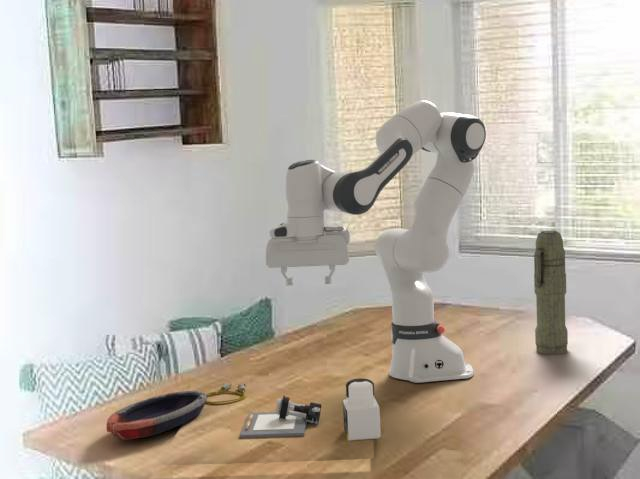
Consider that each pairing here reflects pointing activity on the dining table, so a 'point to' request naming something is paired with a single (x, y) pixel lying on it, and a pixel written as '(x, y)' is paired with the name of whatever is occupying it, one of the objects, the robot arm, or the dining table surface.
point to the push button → (298, 410)
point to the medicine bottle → (361, 411)
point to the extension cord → (225, 387)
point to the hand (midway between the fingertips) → (308, 284)
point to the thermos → (550, 293)
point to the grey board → (272, 425)
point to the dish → (156, 414)
